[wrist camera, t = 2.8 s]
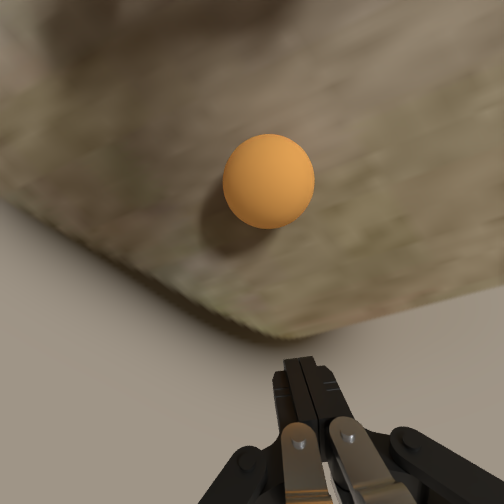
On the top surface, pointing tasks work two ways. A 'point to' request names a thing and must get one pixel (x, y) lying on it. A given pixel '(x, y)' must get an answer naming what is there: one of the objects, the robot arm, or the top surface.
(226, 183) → the ball
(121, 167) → the top surface
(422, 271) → the top surface
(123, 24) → the top surface
